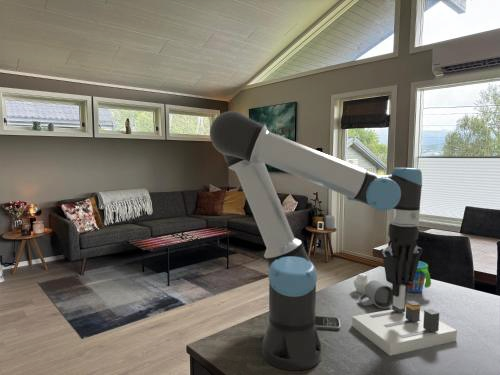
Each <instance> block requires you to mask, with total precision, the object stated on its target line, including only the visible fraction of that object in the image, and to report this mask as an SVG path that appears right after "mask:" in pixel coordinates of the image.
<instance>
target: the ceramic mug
mask: <svg viewBox="0 0 500 375" xmlns="http://www.w3.org/2000/svg"><path fill="white" fill-rule="evenodd" d="M369 281H370V282H368V283H367V285H366V287H365V293H361V295H359V296H358V298H357V300H358V302H359V305H361V306H363V307H367V306H371V305H373V304H374V306H375V307H376V308H379V309H389V308H390V307H391V306H392V301H393V295H392V287H391V286H389V285H388V284H387V283H386V284H385V283H384V282H382V281H380V280H376V279H374V280H369ZM366 298H368V300H365V301H363V300H364V299H366Z"/></svg>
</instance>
